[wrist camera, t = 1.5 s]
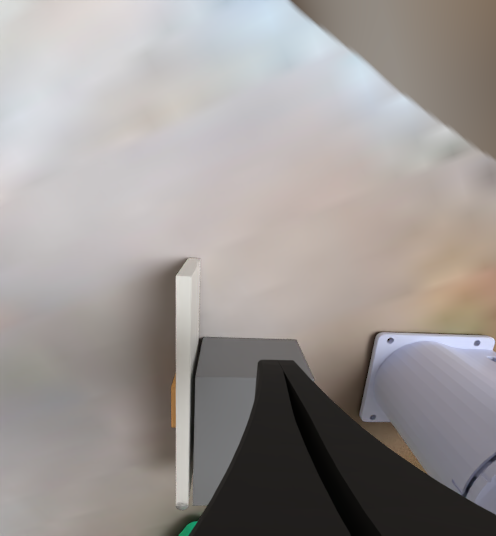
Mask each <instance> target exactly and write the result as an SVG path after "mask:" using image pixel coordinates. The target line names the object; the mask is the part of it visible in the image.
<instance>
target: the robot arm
mask: <svg viewBox="0 0 496 536" xmlns="http://www.w3.org/2000/svg"><path fill="white" fill-rule="evenodd" d="M389 338H391V339H390V340H389V341H387V340H388V339H389ZM474 342H475V343H474ZM494 344H495V340H494V339H493V338H492V337H490V336H485V335H454V334H423V333H393V332H381V333H379V334H377V335H376V338H375V342H374V347H373V351H372V356H371V361H370V366H369V371H368V375H367V380H366V385H365V390H364V394H363V399H362V404H361V409H360V414H359V416H360V418H361V419H362V421H364V422H391V423H392V424H393V426H394V427H395V429H396V430H397V431H398V433H399V434H400V436H401V437H402V438H403V440H404V441H405V443H406V444H407V445H408V447H409V448H410V450H411V451H412V452H413V454H414V455H415V457H416V458H417V460H418V461H419V462H420V464H421V465H422V467H423V468H424V469H425V471H426V472H427V474H428V475H427V474H426V473H424V472H423V471H421V470H420V469H418V468H417V467H415V466H414V465H412V464H411V463H409V462H408V461H406V460H405V459H404V458H402V457H401V456H399V455H398V454H396V453H395V452H393V451H392V450H391V449H389V448H388V447H387V446H385V445H384V444H382V443H381V442H380V441H379V440H377V439H376V438H375V437H374V436H372V435H371V434H370V433H368V432H367V431H366V430H365V429H363V428H362V427H361V426H360V425H359V424H357V423H356V422H355V421H354V420H353V419H351V418H350V417H349V416H348V415H347V414H346V413H345V412H344V411H343V410H341V409H340V408H339V407H338V406H337V405H336V404H335V403H334V402H333V401H332V400H331V399H330V398H329V397H328V396H327V395H326V394H325V393H324V392H323V391H322V390H321V389H320V388H319V387H318V386H317V385H316V384H315V383H314V382H313V381H312V380H311V379H310V378H309V377H308V375H307V374H306V373H305V372H304V371H303V370H302V369H301V368H300V367H299V366H298V365H297V364H296V362H295V361H294V360H260V361H259V362H258V365H257V376H256V388H255V399H254V403H253V407H252V410H251V413H250V417H249V420H248V423H247V425H246V428H245V431H244V433H243V436H242V438H241V441H240V443H239V445H238V448H237V450H236V452H235V454H234V456H233V459H232V461H231V463H230V465H229V467H228V469H227V471H226V473H225V475H224V477H223V478H222V480H221V482H220V484H219V486H218V488H217V489H216V491H215V493H214V495H213V497H212V499H211V500H210V502H209V504H208V505H207V507H206V509H205V511H204V512H203V514H202V515H201V517H200V518H199V520H198V522H197V523H196V525H195V526H194V528H193V529H192V531H191V533H190V534H189V536H496V352H494V351H492V350H493V347H494Z"/></svg>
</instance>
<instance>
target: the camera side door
mask: <svg viewBox="0 0 496 536" xmlns="http://www.w3.org/2000/svg"><path fill="white" fill-rule="evenodd" d="M199 300H200V258H188V259H187V261H186V262H185V263H184V265H183V266H182V268H181V269H180V271H179V272H178V273H177V275H176V373H175V376H174V379H173V383H172V386H171V427H172V428H176V508H177V509H179V510H185V509H187V508H188V503H189V496H190V489H191V482H192V474H193V466H194V417H195V376H196V371H197V366H198V344H199Z"/></svg>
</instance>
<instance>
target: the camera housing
mask: <svg viewBox="0 0 496 536" xmlns="http://www.w3.org/2000/svg"><path fill="white" fill-rule="evenodd" d="M260 360H294V361H295V362H296V364H297V365H298V366H299V367H300V368H301V369H302V370H303V371H304V372H305V373H306V374H307V375H308V377H309V378H310V379H311V380H312V381H313V382H314V377H313V375H312V373H311V371H310V368H309V366H308V364H307V362H306V360H305V358H304V355H303V353H302V351H301V349H300V347H299V344H298V342H297V340H285V339H251V338H217V337H203V341H202V346H201V351H200V356H199V361H198V366H197V371H196V376H195V417H194V466H193V506H198V505H208V504H209V502H210V500H211V499H212V497H213V495H214V493H215V491H216V489H217V488H218V486H219V484H220V482H221V480H222V478H223V477H224V475H225V473H226V471H227V469H228V467H229V465H230V463H231V461H232V459H233V456H234V454H235V452H236V450H237V448H238V445H239V443H240V441H241V438H242V436H243V433H244V431H245V428H246V425H247V423H248V420H249V417H250V413H251V410H252V407H253V403H254V399H255V388H256V376H257V365H258V362H259V361H260Z"/></svg>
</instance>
